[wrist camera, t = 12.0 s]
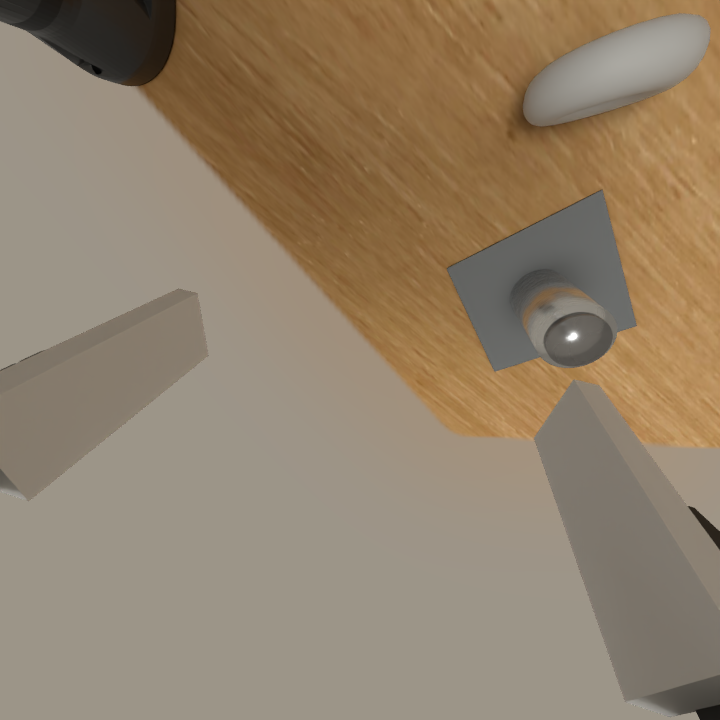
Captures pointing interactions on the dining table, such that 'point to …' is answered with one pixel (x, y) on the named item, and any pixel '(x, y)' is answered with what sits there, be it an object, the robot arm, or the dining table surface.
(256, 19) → the dining table surface
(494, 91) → the dining table surface
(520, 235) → the mat
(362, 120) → the dining table surface
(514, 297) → the shaker
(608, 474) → the robot arm
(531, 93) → the donut
